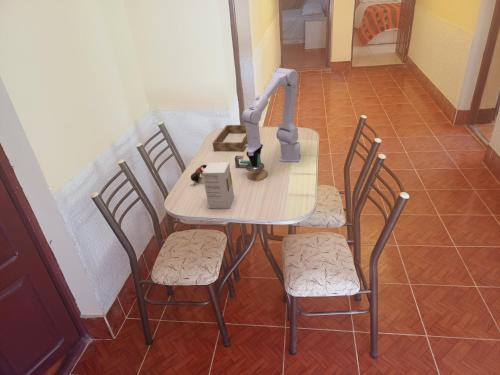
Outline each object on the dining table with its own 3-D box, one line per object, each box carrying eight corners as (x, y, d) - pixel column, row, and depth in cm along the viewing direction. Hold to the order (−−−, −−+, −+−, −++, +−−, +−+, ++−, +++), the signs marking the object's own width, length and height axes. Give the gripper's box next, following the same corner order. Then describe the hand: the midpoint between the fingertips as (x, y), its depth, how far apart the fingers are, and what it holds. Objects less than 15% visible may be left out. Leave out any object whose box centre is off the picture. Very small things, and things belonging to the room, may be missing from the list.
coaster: (269, 170, 171) (269, 169, 170) (265, 180, 162) (265, 179, 162) (249, 169, 173) (249, 168, 173) (244, 180, 165) (244, 179, 165)
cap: (262, 161, 166) (261, 152, 164) (258, 166, 162) (258, 158, 160) (242, 160, 169) (241, 151, 167) (238, 165, 165) (237, 156, 163)
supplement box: (230, 209, 146) (224, 173, 137) (208, 208, 148) (201, 173, 139) (234, 196, 154) (229, 161, 145) (214, 196, 156) (207, 162, 147)
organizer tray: (254, 132, 213) (253, 124, 211) (243, 151, 192) (242, 143, 189) (227, 132, 217) (226, 125, 215) (213, 151, 196) (212, 143, 194)
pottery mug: (201, 174, 176) (207, 161, 171) (214, 186, 172) (220, 173, 168) (183, 179, 166) (189, 166, 162) (196, 192, 163) (202, 179, 159)
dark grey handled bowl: (265, 163, 178) (265, 153, 175) (262, 171, 170) (261, 161, 167) (238, 162, 181) (237, 152, 178) (234, 170, 174) (232, 160, 171)
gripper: (248, 129, 165) (251, 155, 171) (240, 142, 153) (243, 170, 160) (263, 129, 163) (265, 156, 170) (256, 142, 151) (259, 170, 158)
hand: (256, 163), depth 164 cm, fingers closed on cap, 5 cm apart
